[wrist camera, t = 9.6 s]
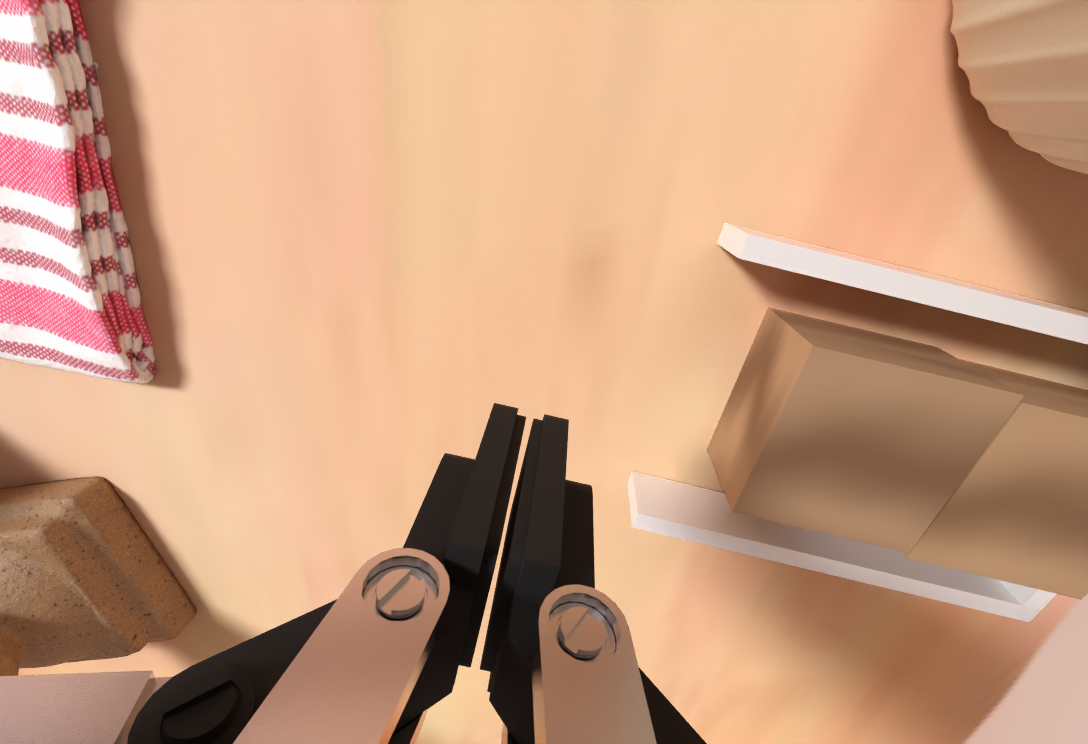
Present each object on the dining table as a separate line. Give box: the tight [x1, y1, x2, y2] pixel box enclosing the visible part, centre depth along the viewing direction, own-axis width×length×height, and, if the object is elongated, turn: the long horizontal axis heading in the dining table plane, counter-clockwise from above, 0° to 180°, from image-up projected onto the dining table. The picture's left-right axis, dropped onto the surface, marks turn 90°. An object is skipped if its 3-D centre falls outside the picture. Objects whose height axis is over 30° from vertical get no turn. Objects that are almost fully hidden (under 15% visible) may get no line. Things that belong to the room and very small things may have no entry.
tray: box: [627, 223, 1088, 622], centre depth 19 cm, size 13×18×3 cm
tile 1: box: [707, 308, 1024, 553], centre depth 19 cm, size 7×7×4 cm
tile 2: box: [902, 359, 1088, 599], centre depth 19 cm, size 7×7×4 cm
